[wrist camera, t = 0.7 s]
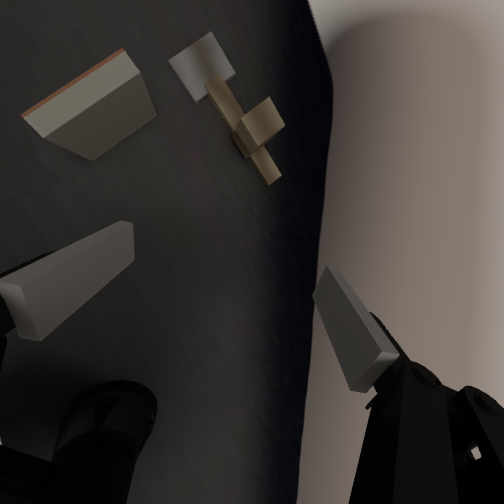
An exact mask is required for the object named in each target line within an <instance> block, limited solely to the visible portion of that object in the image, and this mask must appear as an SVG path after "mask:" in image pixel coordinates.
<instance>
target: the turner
mask: <svg viewBox="0 0 504 504" xmlns="http://www.w3.org/2000/svg"><path fill="white" fill-rule="evenodd" d="M168 63H169V66H170V68H171V69H172V71H173V72H174V74H175V75H176V77H177V78H178V80H179V81H180V82H181V84H182V85H183V87H184V88H185V90H186V91H187V93H188V94H189V96H190V97H191V99H192V100H193V102H194V103H195V104H198V103H199V102H201V101H202V100H203V99H205V98H206V97H209V98H210V100H211V101H212V103H213V105H214V106H215V108H216V109H217V111H218V112H219V114H220V115H221V117H222V118H223V120H224V121H225V123H226V125H227V126H228V128H229V129H230V131H231V132H232V134H233V135H232V139H233V140H234V142H235V143H236V145H237V146H238V148H239V149H240V151H241V152H242V154H243V155H244V157H245V159H246V158H247V157H248V158H249V160H250V161H251V163H252V165H253V166H254V168H255V169H256V171H257V172H258V174H259V175H260V177H261V178H262V180H263V181H264V183H265V185H266V186H268V185H270V184H271V183H272V182H274V181H275V180H276V179H277V178H279V177H280V176H281V174H280V172H279V170H278V169H277V167H276V165H275V164H274V162H273V160H272V159H271V157H270V155H269V154H268V152H267V150H266V149H265V147H264V146H263V145H264V144H266V143H267V142H268V141H269V140H270V139H271V138H272V137H273V136H274V135H275V134H276V133H277V132H278V131H280V130H281V129H282V128H283V127H284V126H285V124H284V123H283V121H282V119H281V117H280V115H279V113H278V112H277V110H276V108H275V106H274V104H273V103H272V101H271V99H270V97H268V98H267V99H266V100H264V101H263V102H262V103H260V104H259V105H258V106H256V107H255V108H254V109H252V110H251V111H250V112H248V113H247V114H246V115H245V114H244V113H243V111H242V109H241V108H240V106H239V104H238V103H237V101H236V99H235V98H234V96H233V94H232V93H231V91H230V90H229V88H228V86H227V85H226V83H227V82H228V81H230V80H231V79H233V78H234V77H235V72H234V70H233V68H232V66H231V65H230V63H229V61H228V60H227V58H226V56H225V54H224V53H223V51H222V49H221V48H220V46H219V44H218V42H217V41H216V39H215V37H214V36H213V34H212V32H209V33H208V34H207V35H205V36H204V37H202V38H201V39H199V40H198V41H196V42H195V43H193V44H192V45H190V46H189V47H187V48H186V49H185V50H183V51H182V52H180V53H179V54H177V55H176V56H174V57H173V58H171V59H170V60H168Z"/></svg>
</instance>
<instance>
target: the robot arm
mask: <svg viewBox="0 0 504 504" xmlns="http://www.w3.org/2000/svg"><path fill="white" fill-rule="evenodd" d="M134 260H135V257H134V235H133V223H130V222H125V221H118V222H116V223H114V224H112V225H110V226H108V227H106V228H104V229H102V230H100V231H98V232H96V233H94V234H92V235H90V236H87V237H85V238H83V239H81V240H79V241H77V242H75V243H73V244H71V245H69V246H67V247H65V248H63V249H61V250H59V251H53V252H49V253H45V254H42V255H40V256H38V257H35V258H33V259H31V260H30V261H27V262H25V263H22V264H20V265H19V266H16V267H14V268H12V269H10V270H7V271H5V272H3V273H1V274H0V371H1V367H2V362H3V358H4V353H5V349H6V345H7V338H6V335H5V334H6V333H8V332H9V331H11V330H12V329H13V328H16V330H17V333H18V335H19V337H20V338H23V339H29V340H35V341H42V340H43V339H44V338H45V337H46V336H47V335H49V334H50V333H51V332H52V331H53V330H54V329H56V328H57V327H58V326H59V325H60V324H61V323H62V322H64V321H65V320H66V319H67V318H68V317H69V316H71V315H72V314H73V313H74V312H75V311H76V310H77V309H79V308H80V307H81V306H82V305H83V304H84V303H86V302H87V301H88V300H89V299H90V298H91V297H92V296H94V295H95V294H96V293H97V292H98V291H99V290H101V289H102V288H103V287H104V286H105V285H106V284H108V283H109V282H110V281H111V280H112V279H113V278H114V277H116V276H117V275H118V274H119V273H120V272H121V271H123V270H124V269H125V268H126V267H127V266H128V265H129V264H131V263H132V262H133V261H134ZM312 296H313V299H314V301H315V304H316V306H317V309H318V311H319V314H320V316H321V319H322V321H323V324H324V326H325V329H326V331H327V334H328V336H329V339H330V341H331V344H332V346H333V349H334V351H335V353H336V356H337V358H338V361H339V363H340V366H341V368H342V371H343V373H344V376H345V378H346V381H347V383H348V386H349V388H350V391H356V392H362V393H367V392H368V390H369V389H370V388H371V387H372V386H374V388H375V390H376V392H377V395H376V396H375V397H374V398H373V399H372V400H371V401H370V402H369V403H368V404H367V406H366V407H365V408H366V409H367V410H368V409H369V408H370V407H371V411H370V415H369V419H368V424H367V428H366V432H365V436H364V441H363V445H362V449H361V454H360V457H359V462H358V466H357V470H356V474H355V478H354V483H353V487H352V492H351V496H350V500H349V504H504V408H503V407H502V406H500V405H499V404H498V403H497V401H496V400H494V399H493V398H492V397H490V396H489V395H488V394H486V393H484V392H482V391H481V390H479V389H477V388H475V387H472V386H465V387H464V388H462V389H461V390H460V391H459V392H458V391H455V390H453V389H451V388H449V387H446V386H444V385H442V383H441V382H440V380H439V379H438V378H437V377H436V376H435V375H434V374H433V373H432V372H431V371H429V370H428V369H427V368H426V367H424V366H423V365H420V364H419V363H417V362H413V361H411V360H410V359H409V358H408V356H407V355H406V354H405V353H404V351H403V350H402V349H401V347H400V346H399V344H398V343H397V342H396V341H395V339H394V338H393V337H392V336H391V334H390V333H389V331H388V330H386V327H385V326H384V325H383V323H382V322H381V321H380V320H379V319H378V318H377V317H376V316H375V315H374V314H373V313H371V312H369V311H368V310H367V308H366V307H365V306H364V304H363V303H362V302H361V300H360V299H359V297H358V296H357V295H356V293H355V292H354V290H353V289H352V288H351V286H350V285H349V284H348V282H347V281H346V279H345V278H344V277H343V275H342V274H341V272H340V271H339V270H338V268H337V267H332V266H328V265H326V268H325V270H324V272H323V274H322V277H321V278H320V281H319V282H318V285H317V287H316V289H315V291H314V293H313V295H312ZM156 414H157V402H156V399H155V397H154V395H153V394H152V392H151V391H150V390H148V389H147V388H146V387H144V386H142V385H140V384H137V383H134V382H128V381H114V382H108V383H104V384H101V385H98V386H95V387H93V388H91V389H89V390H88V391H86V392H84V393H83V394H82V395H80V396H79V397H78V398H77V399H76V400H75V401H74V403H73V404H72V405H71V407H70V409H69V410H68V412H67V413H66V415H65V416H64V418H63V420H62V422H61V425H60V428H59V432H58V436H57V440H56V444H55V447H54V451H53V455H52V459H51V462H49V461H46V460H43V459H40V458H37V457H34V456H31V455H29V454H26V453H23V452H20V451H17V450H14V449H11V448H8V447H5V446H2V445H0V504H126V502H127V498H128V493H129V489H130V485H131V480H132V476H133V471H134V467H135V463H136V460H137V458H138V456H139V455H140V453H141V451H142V449H143V447H144V445H145V443H146V441H147V439H148V437H149V435H150V433H151V431H152V429H153V427H154V424H155V419H156ZM477 446H478V449H479V451H480V453H481V458H479V459H477V460H475V458H474V457H473V454H472V452H471V450H472V449H473V448H475V447H477Z"/></svg>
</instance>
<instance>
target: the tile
mask: <svg viewBox="0 0 504 504" xmlns="http://www.w3.org/2000/svg"><path fill="white" fill-rule="evenodd" d="M21 116H22V117H23V118H24V119H25V120H26V121H27V122H28V123H29V124H30V125H31V126H32V127H33V128H34V129H35V130H36V131H37V132H38V133H39V134H40V135H41V136H42V137H43V138H45V139H47V140H49V141H51V142H53V143H55V144H57V145H59V146H61V147H63V148H65V149H67V150H70V151H72V152H74V153H76V154H78V155H80V156H82V157H84V158H86V159H88V160H90V161H94V160H95V159H97V158H98V157H99V156H101V155H102V154H104V153H105V152H107V151H108V150H109V149H111V148H112V147H114V146H115V145H116V144H118V143H119V142H121V141H122V140H123V139H125V138H126V137H128V136H129V135H131V134H132V133H133V132H135V131H136V130H138V129H139V128H140V127H142V126H143V125H145V124H146V123H147V122H149V121H150V120H152V119H153V118H154V117H156V116H157V113H156V111H155V108H154V106H153V103H152V101H151V98H150V96H149V93H148V91H147V88H146V86H145V83H144V81H143V78H142V76H141V73H140V71H139V70H138V69H137V67H136V66H135V65H134V63H133V62H132V61H131V59H130V58H129V56H128V55H127V54H126V52H125V51H124V50H123V48H121V49H120V50H118V51H117V52H115V53H114V54H112V55H111V56H109V57H108V58H106V59H105V60H103V61H102V62H100V63H99V64H97V65H95V66H94V67H92V68H91V69H89V70H88V71H86V72H85V73H83V74H82V75H80V76H79V77H77V78H76V79H74V80H73V81H71V82H70V83H68V84H67V85H65V86H64V87H62V88H60V89H59V90H57V91H56V92H54V93H53V94H51V95H50V96H48V97H47V98H45V99H44V100H42V101H41V102H39V103H38V104H36V105H35V106H33V107H32V108H30V109H29V110H27V111H26V112H24V113H22V114H21Z"/></svg>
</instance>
